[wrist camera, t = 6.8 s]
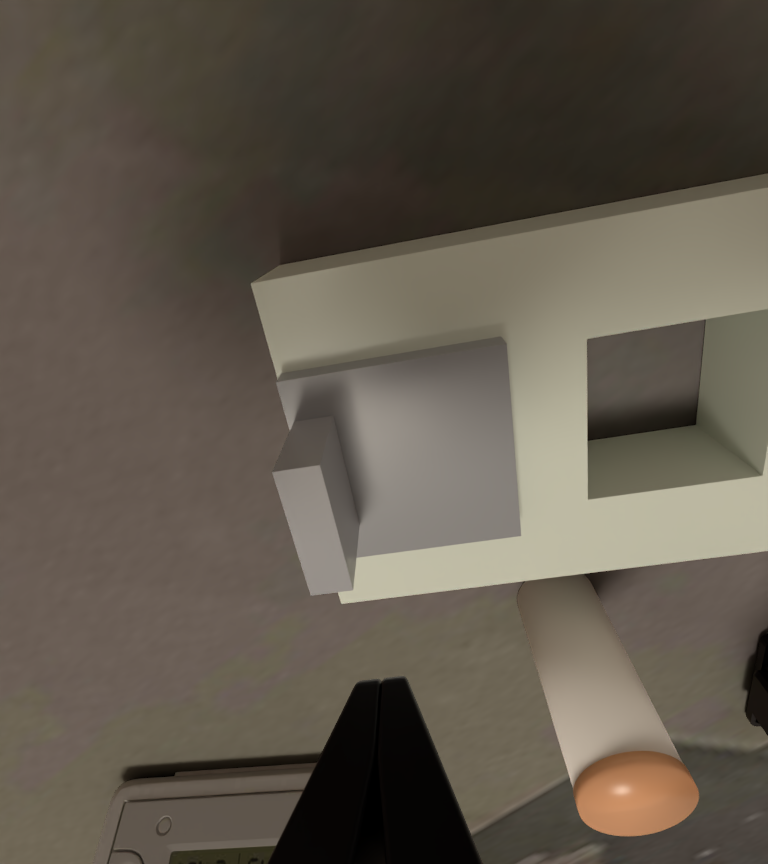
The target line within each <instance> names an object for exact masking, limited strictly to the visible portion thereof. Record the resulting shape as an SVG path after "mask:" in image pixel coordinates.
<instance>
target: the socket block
mask: <svg viewBox="0 0 768 864" xmlns="http://www.w3.org/2000/svg"><path fill="white" fill-rule="evenodd" d="M251 287H252V290H253V294H254V297H255V301H256V304H257V308H258V311H259V315H260V318H261V322H262V326H263V329H264V333H265V336H266V340H267V343H268V347H269V350H270V354H271V357H272V361H273V364H274V368H275V371H276V375H277V379H278V378H279V376H280V375H281V373H286V372H292V371H298V370H304V369H310V368H316V367H322V366H327V365H333V364H339V363H345V362H351V361H357V360H363V359H369V358H375V357H381V356H387V355H393V354H399V353H405V352H411V351H417V350H423V349H429V348H435V347H440V346H446V345H452V344H458V343H464V342H470V341H476V340H482V339H488V338H494V337H500V336H501V337H502V338H503V339H504V341H505V342H506V343H507V354H508V367H509V380H510V393H511V407H512V420H513V433H514V446H515V459H516V473H517V486H518V499H519V512H520V525H521V536H517V537H510V538H502V539H495V540H487V541H480V542H472V543H464V544H457V545H449V546H442V547H434V548H427V549H419V550H412V551H404V552H396V553H389V554H381V555H374V556H366V557H359V558H356V567H355V577H354V587H353V590H352V591H344V592H338V594H339V598H340V601H341V604H344V603H352V602H360V601H368V600H376V599H384V598H393V597H401V596H409V595H417V594H425V593H433V592H441V591H449V590H457V589H465V588H473V587H481V586H489V585H497V584H505V583H513V582H521V581H529V580H537V579H545V578H553V577H561V576H570V575H578V574H586V573H594V572H602V571H610V570H618V569H626V568H634V567H642V566H650V565H658V564H666V563H674V562H682V561H690V560H698V559H706V558H714V557H722V556H730V555H739V554H747V553H755V552H763V551H768V173H767V174H762V175H756V176H751V177H746V178H740V179H735V180H730V181H724V182H719V183H714V184H708V185H703V186H698V187H693V188H687V189H682V190H677V191H671V192H666V193H661V194H655V195H650V196H645V197H639V198H634V199H629V200H623V201H618V202H613V203H608V204H602V205H597V206H592V207H586V208H581V209H576V210H570V211H565V212H560V213H554V214H549V215H544V216H538V217H533V218H528V219H522V220H517V221H512V222H507V223H501V224H496V225H491V226H485V227H480V228H475V229H469V230H464V231H459V232H453V233H448V234H443V235H437V236H432V237H427V238H421V239H416V240H411V241H406V242H400V243H395V244H390V245H384V246H379V247H374V248H368V249H363V250H358V251H352V252H347V253H342V254H336V255H331V256H326V257H320V258H315V259H310V260H305V261H299V262H294V263H289V264H283V265H279V266H278V267H276V268H274V269H273V270H271V271H270V272H268V273H266V274H265V275H263V276H262V277H260V278H259V279H257V280H255V281H254V282H252V283H251ZM704 319H706V324H705V334H704V345H703V355H702V366H701V376H700V387H699V398H698V408H697V419H696V425H692V426H685V427H679V428H672V429H665V430H658V431H652V432H645V433H638V434H631V435H624V436H618V437H611V438H604V439H597V440H590V441H587V339H589V338H595V337H601V336H607V335H613V334H619V333H625V332H631V331H637V330H643V329H649V328H655V327H662V326H668V325H674V324H680V323H686V322H692V321H698V320H704Z"/></svg>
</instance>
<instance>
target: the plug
mask: <svg viewBox="0 0 768 864" xmlns="http://www.w3.org/2000/svg"><path fill="white" fill-rule="evenodd" d="M517 604H518V608H519V611H520V615H521V618H522V621H523V625H524V628H525V631H526V634H527V638H528V641H529V644H530V648H531V651H532V654H533V658H534V661H535V664H536V667H537V671H538V674H539V677H540V681H541V684H542V687H543V691H544V694H545V697H546V701H547V704H548V707H549V710H550V714H551V717H552V720H553V724H554V727H555V730H556V734H557V737H558V740H559V743H560V747H561V750H562V753H563V757H564V760H565V763H566V767H567V770H568V773H569V776H570V780H571V783H572V786H573V794H574V798H575V802H576V805H577V808H578V812H579V814H580V817H581V818H582V820H583V821H584V822H585V823H586V824H587V825H588V826H590V827H591V828H593V829H595V830H597V831H599V832H602V833H606V834H610V835H616V836H640V835H647V834H652V833H656V832H659V831H662V830H665V829H668V828H670V827H672V826H674V825H676V824H678V823H679V822H681V821H683V820H684V819H685V818H686V817H688V816H689V815H690V814H691V813H692V811H693V810H694V809H695V807H696V805H697V803H698V799H699V792H698V789H697V787H696V784H695V783H694V781H693V779H692V777H691V775H690V773H689V771H688V769H687V767H686V766H685V765H684V764H683V763H682V761H681V759H680V757H679V755H678V753H677V751H676V749H675V747H674V745H673V743H672V741H671V739H670V737H669V735H668V733H667V731H666V729H665V727H664V725H663V723H662V721H661V719H660V717H659V715H658V713H657V712H656V710H655V708H654V706H653V704H652V702H651V700H650V698H649V696H648V694H647V692H646V690H645V688H644V686H643V684H642V682H641V680H640V678H639V676H638V674H637V672H636V670H635V668H634V666H633V664H632V662H631V660H630V658H629V657H628V655H627V653H626V651H625V649H624V647H623V645H622V643H621V641H620V639H619V637H618V635H617V633H616V631H615V629H614V627H613V625H612V623H611V621H610V619H609V617H608V615H607V613H606V611H605V609H604V607H603V605H602V603H601V601H600V600H599V598H598V596H597V594H596V592H595V590H594V588H593V586H592V584H591V582H590V580H589V579H588V578H587V577H586V576H585V575H584V574H578V575H570V576H561V577H553V578H545V579H537V580H529V581H525V582H524V583H523V585H522V586H521V588H520V589H519V592H518V595H517Z"/></svg>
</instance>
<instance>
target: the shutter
mask: <svg viewBox="0 0 768 864" xmlns="http://www.w3.org/2000/svg"><path fill="white" fill-rule="evenodd" d="M276 384H277V388H278V391H279V395H280V398H281V402H282V405H283V409H284V412H285V416H286V419H287V423H288V426H289V430H290V432H289V434H288V437H287V439H286V441H285V444H284V446H283V448H282V451H281V453H280V455H279V457H278V460H277V462H276V464H275V467H274V469H273V471H272V473H273V477H274V480H275V483H276V486H277V489H278V492H279V496H280V499H281V502H282V505H283V508H284V512H285V515H286V518H287V521H288V524H289V528H290V531H291V534H292V537H293V540H294V543H295V547H296V550H297V553H298V556H299V559H300V563H301V566H302V569H303V572H304V575H305V578H306V582H307V585H308V588H309V591H310V594H311V596H312V595H320V594H328V593H336V592H344V591H352V590H353V587H354V577H355V567H356V558H359V557H366V556H374V555H381V554H389V553H396V552H404V551H412V550H419V549H427V548H434V547H442V546H449V545H457V544H464V543H472V542H480V541H487V540H495V539H502V538H510V537H517V536H521V525H520V512H519V499H518V486H517V473H516V459H515V446H514V433H513V420H512V407H511V393H510V380H509V367H508V354H507V343H506V342H505V341H504V339H503V338H502V337H501V336H500V337H494V338H488V339H482V340H476V341H470V342H464V343H458V344H452V345H446V346H440V347H435V348H429V349H423V350H417V351H411V352H405V353H399V354H393V355H387V356H381V357H375V358H369V359H363V360H357V361H351V362H345V363H339V364H333V365H327V366H322V367H316V368H310V369H304V370H298V371H292V372H286V373H281V375H280V376H279V378H278V380H277V381H276Z"/></svg>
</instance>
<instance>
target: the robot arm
mask: <svg viewBox="0 0 768 864" xmlns="http://www.w3.org/2000/svg"><path fill="white" fill-rule="evenodd" d="M746 717H747V718H748V720H749V721H750V723H751V724H752V725H753V726H761V727H762V728H763V729H764V731H765V732H766V734H767V735H768V634H766V635H764V636H763V637H762V638H761V640H760V644H759V649H758V654H757V659H756V665H755V670H754V675H753V680H752V685H751V690H750V695H749V701H748V706H747V711H746ZM267 864H483V863H482V860H481V858H480V855H479V853H478V850H477V848H476V845H475V843H474V841H473V838H472V836H471V833H470V831H469V828H468V826H467V824H466V821H465V819H464V816H463V814H462V811H461V809H460V806H459V804H458V802H457V799H456V797H455V794H454V792H453V789H452V787H451V784H450V782H449V780H448V777H447V775H446V772H445V770H444V767H443V765H442V763H441V760H440V758H439V755H438V753H437V750H436V748H435V745H434V743H433V741H432V738H431V736H430V733H429V731H428V728H427V726H426V723H425V721H424V719H423V716H422V714H421V711H420V709H419V706H418V704H417V702H416V699H415V697H414V694H413V692H412V689H411V687H410V684H409V682H408V680H407V678H406V677H404V676H398V677H389V678H385V679H383V681H381V680H380V679H372V680H363V681H359V682H358V683H356V685H355V687H354V688H353V690H352V692H351V694H350V696H349V698H348V701H347V703H346V705H345V707H344V709H343V711H342V713H341V715H340V717H339V719H338V721H337V723H336V725H335V727H334V729H333V731H332V733H331V735H330V737H329V739H328V741H327V743H326V745H325V747H324V749H323V751H322V753H321V755H320V757H319V759H318V761H317V763H316V765H315V767H314V769H313V772H312V774H311V776H310V778H309V780H308V782H307V784H306V786H305V788H304V790H303V792H302V794H301V796H300V798H299V800H298V802H297V804H296V806H295V808H294V810H293V812H292V814H291V816H290V818H289V820H288V822H287V824H286V826H285V828H284V830H283V832H282V834H281V836H280V838H279V841H278V843H277V845H276V847H275V849H274V851H273V853H272V855H271V857H270V859H269V861H268V863H267Z"/></svg>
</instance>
